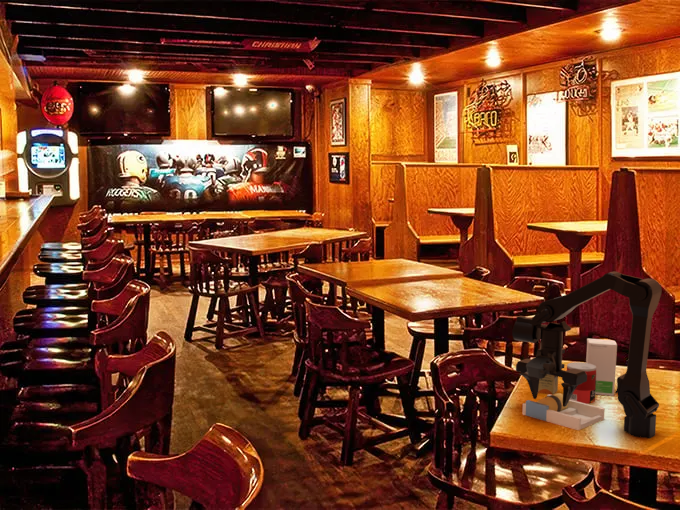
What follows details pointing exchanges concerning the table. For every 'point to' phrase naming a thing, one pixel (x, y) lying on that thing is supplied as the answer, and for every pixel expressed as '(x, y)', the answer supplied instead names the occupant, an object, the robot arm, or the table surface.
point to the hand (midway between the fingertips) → (549, 402)
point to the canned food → (584, 383)
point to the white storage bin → (566, 414)
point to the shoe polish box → (548, 384)
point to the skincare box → (603, 364)
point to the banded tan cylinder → (554, 402)
